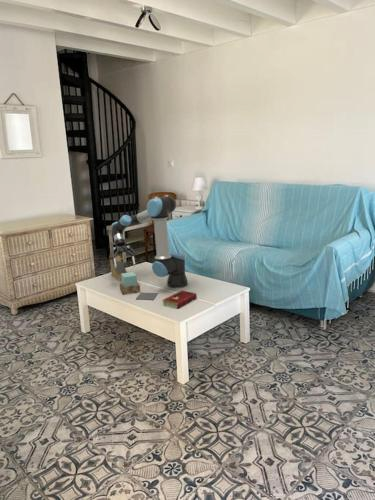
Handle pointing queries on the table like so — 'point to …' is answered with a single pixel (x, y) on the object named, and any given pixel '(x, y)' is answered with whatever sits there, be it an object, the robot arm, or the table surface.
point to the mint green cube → (129, 279)
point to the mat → (146, 296)
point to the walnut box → (129, 289)
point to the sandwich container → (117, 268)
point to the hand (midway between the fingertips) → (125, 265)
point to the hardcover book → (179, 299)
